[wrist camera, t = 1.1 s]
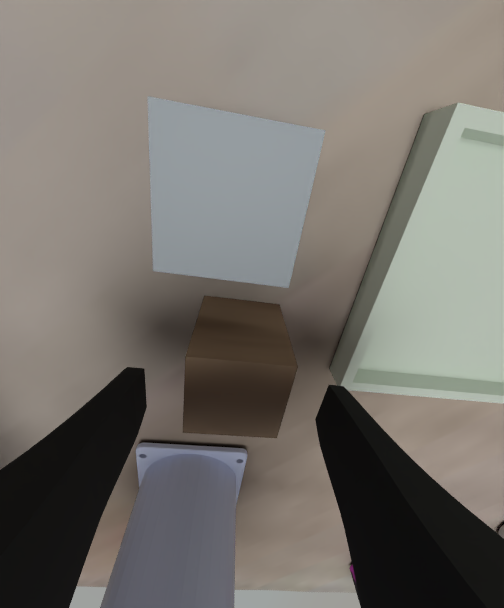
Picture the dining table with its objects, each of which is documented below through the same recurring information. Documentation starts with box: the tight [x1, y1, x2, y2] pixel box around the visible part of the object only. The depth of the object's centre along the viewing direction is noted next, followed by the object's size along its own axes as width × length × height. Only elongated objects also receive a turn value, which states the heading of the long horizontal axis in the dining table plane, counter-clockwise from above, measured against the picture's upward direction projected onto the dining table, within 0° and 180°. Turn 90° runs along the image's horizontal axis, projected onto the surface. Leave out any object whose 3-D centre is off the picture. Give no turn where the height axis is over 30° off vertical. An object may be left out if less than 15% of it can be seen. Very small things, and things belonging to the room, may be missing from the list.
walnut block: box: [183, 296, 298, 438], centre depth 12 cm, size 4×4×5 cm
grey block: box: [148, 96, 325, 288], centre depth 9 cm, size 4×4×5 cm
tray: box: [329, 103, 504, 403], centre depth 13 cm, size 13×13×2 cm
